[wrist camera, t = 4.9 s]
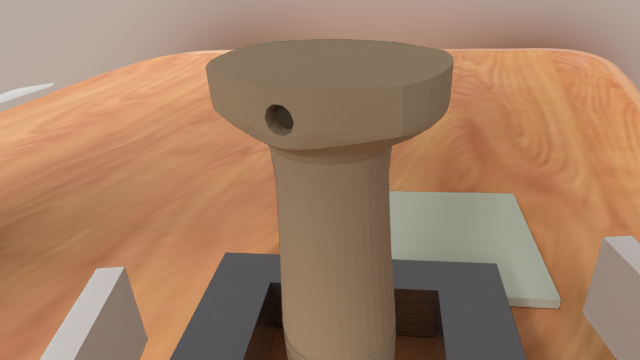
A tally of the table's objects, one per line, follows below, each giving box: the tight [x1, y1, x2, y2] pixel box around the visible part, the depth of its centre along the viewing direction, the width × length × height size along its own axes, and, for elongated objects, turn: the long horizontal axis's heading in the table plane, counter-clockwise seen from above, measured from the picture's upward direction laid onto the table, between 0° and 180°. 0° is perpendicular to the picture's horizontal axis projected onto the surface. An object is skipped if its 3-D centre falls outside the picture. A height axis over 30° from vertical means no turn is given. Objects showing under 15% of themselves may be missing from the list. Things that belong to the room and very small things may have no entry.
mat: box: [389, 191, 561, 309], centre depth 30 cm, size 11×11×1 cm
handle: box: [206, 39, 453, 360], centre depth 16 cm, size 5×6×15 cm
